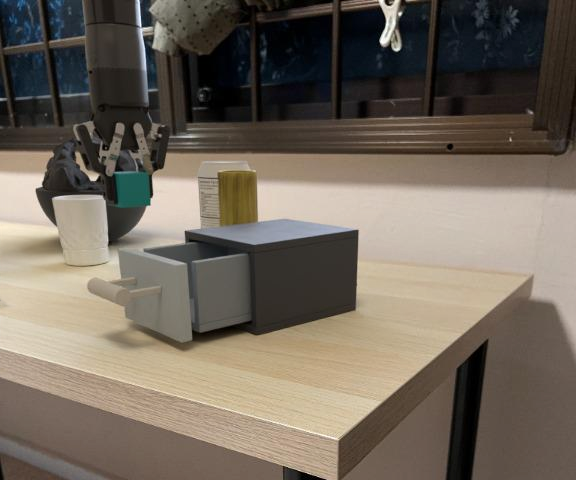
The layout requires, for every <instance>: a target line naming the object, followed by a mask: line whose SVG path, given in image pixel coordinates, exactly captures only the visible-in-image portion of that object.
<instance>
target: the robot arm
mask: <svg viewBox="0 0 576 480" xmlns="http://www.w3.org/2000/svg"><path fill="white" fill-rule="evenodd" d="M81 1H82V2H81V3H82V13H83V22H84V52H85V61H86V70H87V79H88V80H87V81H88V88H89V98H90V99H89V100H90V105H91V109H92V110H91V116H90V118H89V121H86V122H82V123H76V124H72V125H71V127H70V131H71V134H72V137H74V139H75V142H76V148H77V150H78V153H79V155H80V158H81V161H82V162H83V165H84V169H85V170H86V171H88V172H92V173H95V174H98V176H99V175H100V177H101V185H102V195H103V198H104V200H106V201H107V203H108V204H109V205H118V195H117V185H116V177H113V175H114V171H115V165H116V160H117V159H118V157H119V152H120V151H123V150H129V152H130V155H131V157H132V158H133V159H134V162H135V165H136V170H137V172H145V173H148V175H149V188H150V202H151V201H152V199H153V197H154V183H153V174H154V173H155V172H157V171H159V170H163V169H164V168H165V165H166V158H167V153H168V152H167V151H168V147H169V141H170V135H171V128H170V126H169V125H161V124H158V123H155V122H153V120H152V118H151V116H150V114H149V105H150V101H149V100H150V99H149V86H148V85H149V84H148V72H147V59H146V48H145V42H144V37H143V30H142V19H141V5H140V0H81ZM94 133H95V134H96V136H98V137H99V138H100V139H101V146H100V152H99V156H100V159H99V158H98V156H97V153H96V151H95V148H94V145H93V142H92V139H93V137H94ZM149 134H150V138H151V145H150V150H149V147H148V144H147V141H146V140H147V137H148V135H149Z"/></svg>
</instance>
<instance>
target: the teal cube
mask: <svg viewBox="0 0 576 480" xmlns="http://www.w3.org/2000/svg"><path fill="white" fill-rule="evenodd" d="M113 177H116V185H117V195H118V205H111V206H116V207H122V208H125V207H139V206H147V207H150V206H152V203H151V201H150V188H149V175H148V173H145V172H138V171H137V172H135V171H128V172H114V175H113ZM108 205H109V204H108Z"/></svg>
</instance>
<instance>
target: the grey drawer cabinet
mask: <svg viewBox="0 0 576 480" xmlns="http://www.w3.org/2000/svg"><path fill="white" fill-rule="evenodd" d="M359 231H360V230H359V229H358V228H352V227H344V226H337V225H331V224H325V223H324V224H323V223H318V222H310V221H303V220H296V219H290V218H279V219H271V220H262V221H261V220H260V221H258V222H253V223H244V224H236V225H228V226H219V227H211V228H202V229H201V228H196V229H195V228H194V229H187V230H186V229H185V230H184V243H189V242H197V241H202V242H207V243H211V244H216V245H220V246H225V247H229V248H234V249H238V250H243V251H248V252H250V278H251V311H252V320H251V321H247V322H243V323H239V324H235V325H230V326H231V327H234V328H236V329H239V330H242V331H244V332H247V333H250V334H252V335H255V336H259V335H263V334H267V333H270V332H275V331H278V330H279V331H280V330H282V329H285V328H289V327H293V326H299V325H302V324H305V323H309V322H313V321H318V320H320V319H321V320H322V319H324V318H328V317H332V316H335V315H340V314H344V313H347V312H350V311H355V310H356V309H357V293H358V292H357V290H358V289H357V287H358V260H359V235H360V233H359Z"/></svg>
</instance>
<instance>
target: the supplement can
mask: <svg viewBox="0 0 576 480" xmlns="http://www.w3.org/2000/svg"><path fill="white" fill-rule="evenodd" d="M223 170H251V168H250V166H249V164H248V161H246V160H205V161H201V162H200V166H199V169H198V171H197V186H198V202H199V203H198V204H199V221H200V229H202V228H211V227H219V226H220V224H219V196H218V174H217V173H218V171H223Z"/></svg>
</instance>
